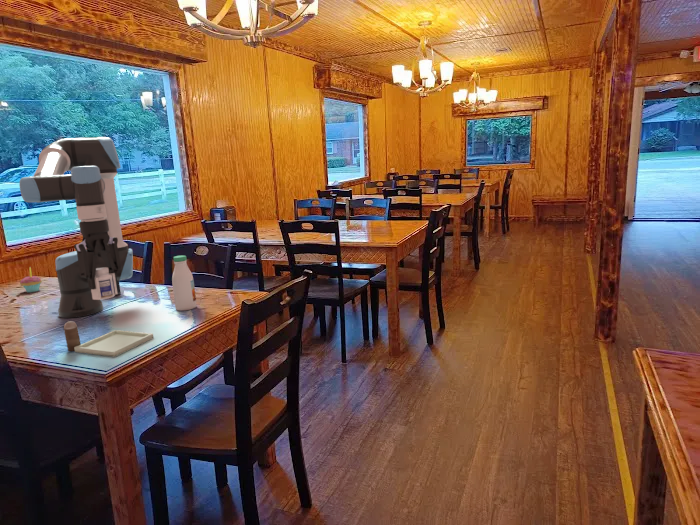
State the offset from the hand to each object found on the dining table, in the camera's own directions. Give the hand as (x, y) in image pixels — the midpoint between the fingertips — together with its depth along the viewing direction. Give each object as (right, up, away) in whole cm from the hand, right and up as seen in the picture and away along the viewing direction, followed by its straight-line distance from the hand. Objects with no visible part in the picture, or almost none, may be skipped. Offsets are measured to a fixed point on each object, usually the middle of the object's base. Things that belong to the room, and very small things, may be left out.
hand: (105, 296), depth 151 cm
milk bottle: (+12, -7, +39) cm, 41 cm away
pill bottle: (0, 0, 0) cm, 0 cm away
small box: (-30, -4, +68) cm, 75 cm away
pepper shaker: (-10, -16, +1) cm, 19 cm away
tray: (+2, -15, +3) cm, 15 cm away
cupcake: (-73, -3, +81) cm, 109 cm away
